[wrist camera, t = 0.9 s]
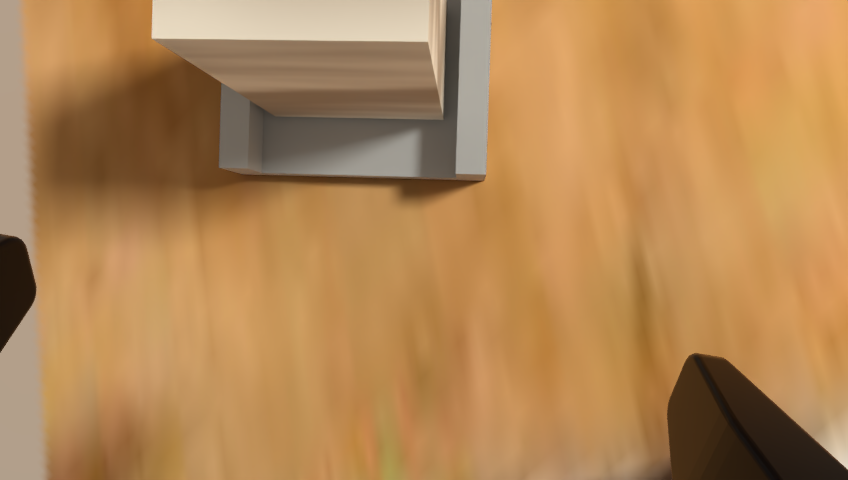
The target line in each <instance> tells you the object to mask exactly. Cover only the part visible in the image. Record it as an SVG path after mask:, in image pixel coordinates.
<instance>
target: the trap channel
mask: <svg viewBox="0 0 848 480" xmlns="http://www.w3.org/2000/svg"><path fill="white" fill-rule="evenodd" d="M491 9H492V0H447V35H446V66H445V97H444V120H422V119H373V118H323V117H275V116H274V115H272V114H271V113H269V112H268V111H266V110H264V109H263V108H261V107H260V106H258V105H256V104H255V103H253V102H252V101H250V100H248V99H247V98H245V97H244V96H242V95H241V94H239V93H237V92H236V91H234V90H233V89H231V88H229V87H228V86H226V85H225V84H223V83H222V82H221V111H220V144H219V168H222V169H225V170H229V171H232V172H236V173H240V174H248V175H286V176H324V177H362V178H400V179H438V180H475V181H484V180H485V176H486V161H487V130H488V100H489V70H490V39H491Z"/></svg>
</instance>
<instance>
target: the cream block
mask: <svg viewBox="0 0 848 480" xmlns="http://www.w3.org/2000/svg"><path fill="white" fill-rule="evenodd" d="M446 35H447V0H153V12H152V39H153V40H155V41H156V42H158V43H160V44H161V45H163V46H164V47H166V48H168V49H169V50H171V51H172V52H174V53H176V54H177V55H179V56H180V57H182V58H183V59H185V60H187V61H188V62H190V63H191V64H193V65H195V66H196V67H198V68H199V69H201V70H202V71H204V72H206V73H207V74H209V75H210V76H212V77H214V78H215V79H217V80H218V81H220V82H222V83H223V84H225V85H226V86H228V87H229V88H231V89H233V90H234V91H236V92H237V93H239V94H241V95H242V96H244V97H245V98H247V99H248V100H250V101H252V102H253V103H255V104H256V105H258V106H260V107H261V108H263V109H264V110H266V111H268V112H269V113H271V114H272V115H274V116H275V117H323V118H373V119H422V120H444V97H445V66H446Z"/></svg>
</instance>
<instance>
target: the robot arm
mask: <svg viewBox="0 0 848 480" xmlns="http://www.w3.org/2000/svg"><path fill="white" fill-rule="evenodd" d="M35 296H36V283H35V279H34V275H33V271H32V267H31V263H30V259H29V255H28V251H27V248H26V245H25V244H24V242H23V241H22V240H21V239H19V238H18V237H14V236H8V235H3V234H0V352H1V351H2V349H3V348H4V346H5V345H6V343H7V342H8V340H9V338H10V337H11V336H12V334H13V333H14V331H15V330H16V328H17V327H18V325H19V324H20V322H21V321H22V319H23V317H24V316H25V315H26V313H27V312H28V310H29V309H30V307H31V306H32V304H33V302H34V299H35ZM667 420H668V433H669V446H670V458H671V471H672V480H848V469H846V468H845V467H844V466H843V465H842V464H841V463H840V462H839V461H838V460H837V459H835V458H834V457H833V456H832V455H831V454H830V453H829V452H828V451H827V450H826V449H824V448H823V447H822V446H821V445H820V444H819V443H818V442H817V441H816V440H815V439H813V438H812V437H811V436H810V435H809V434H808V433H807V432H806V431H805V430H804V429H802V428H801V427H800V426H799V425H798V424H797V423H796V422H795V421H794V420H793V419H791V418H790V417H789V416H788V415H787V414H786V413H785V412H784V411H783V410H782V409H780V408H779V407H778V406H777V405H776V404H775V403H774V402H773V401H772V400H771V399H769V398H768V397H767V396H766V395H765V394H764V393H763V392H762V391H761V390H760V389H758V388H757V387H756V386H755V385H754V384H753V383H752V382H751V381H750V380H749V379H747V378H746V377H745V376H744V375H743V374H742V373H741V372H740V371H739V370H738V369H736V368H735V367H734V366H733V365H732V364H731V363H730V362H729V361H727V360H726V359H724V358H722V357H717V356H711V355H705V354H699V353H694V354H692V355H690V356H689V357H688V358H687V360H686V361H685V363H684V366H683V368H682V371H681V373H680V375H679V378H678V380H677V382H676V385H675V387H674V390H673V392H672V394H671V397H670V399H669V403H668V410H667Z"/></svg>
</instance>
